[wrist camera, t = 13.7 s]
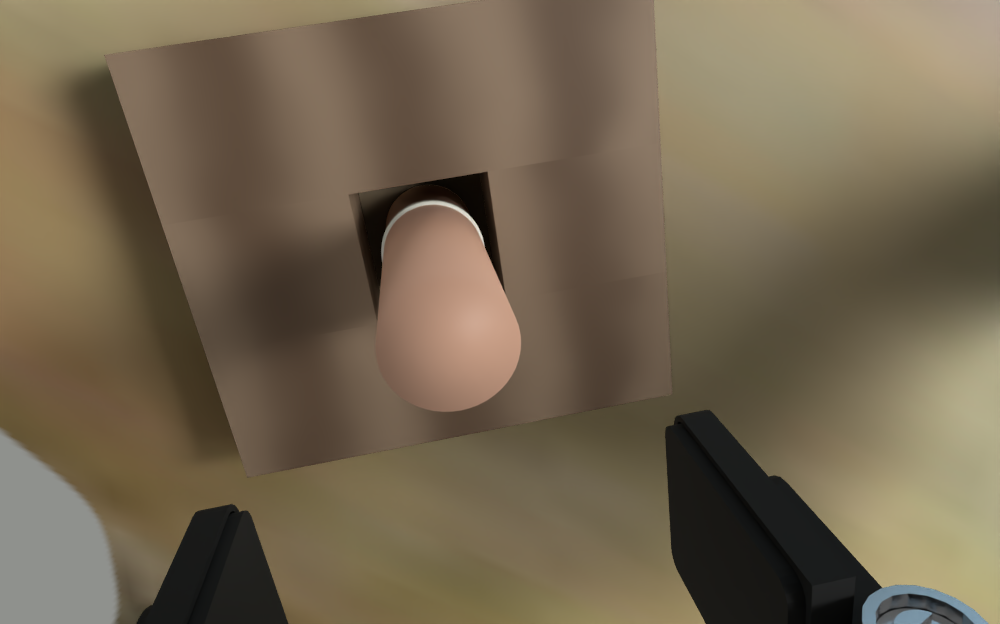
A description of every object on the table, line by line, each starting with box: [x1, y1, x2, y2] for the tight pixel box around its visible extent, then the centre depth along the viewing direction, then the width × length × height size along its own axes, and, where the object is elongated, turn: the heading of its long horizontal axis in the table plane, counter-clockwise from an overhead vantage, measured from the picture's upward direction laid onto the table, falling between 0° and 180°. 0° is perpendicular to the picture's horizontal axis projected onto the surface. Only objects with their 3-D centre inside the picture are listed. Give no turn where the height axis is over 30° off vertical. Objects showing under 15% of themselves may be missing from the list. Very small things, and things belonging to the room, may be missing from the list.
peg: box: [375, 185, 521, 412], centre depth 25 cm, size 4×4×14 cm
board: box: [104, 0, 672, 478], centre depth 29 cm, size 20×18×4 cm
